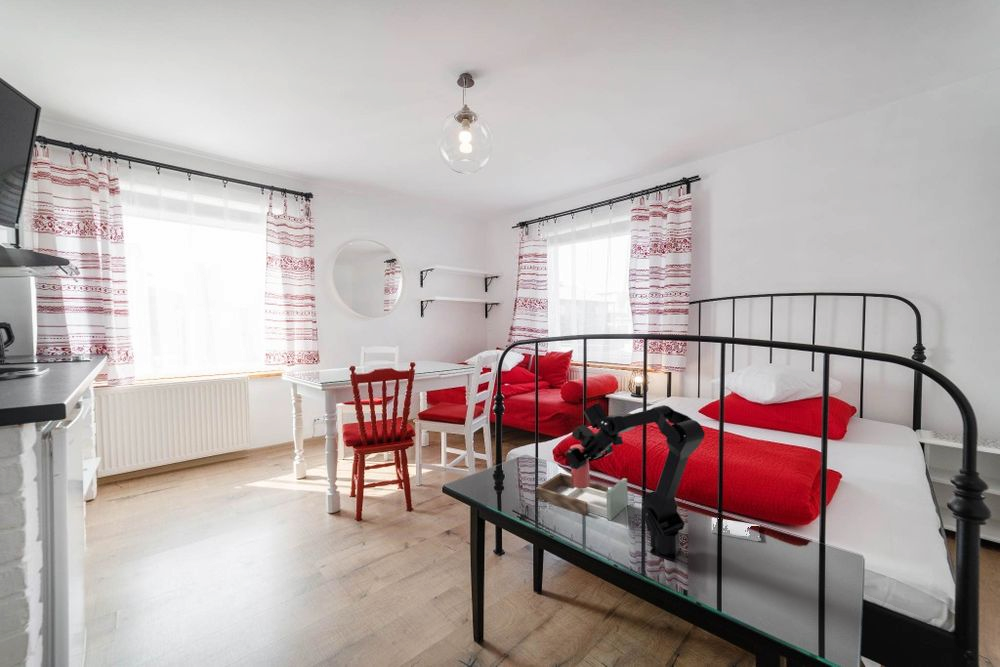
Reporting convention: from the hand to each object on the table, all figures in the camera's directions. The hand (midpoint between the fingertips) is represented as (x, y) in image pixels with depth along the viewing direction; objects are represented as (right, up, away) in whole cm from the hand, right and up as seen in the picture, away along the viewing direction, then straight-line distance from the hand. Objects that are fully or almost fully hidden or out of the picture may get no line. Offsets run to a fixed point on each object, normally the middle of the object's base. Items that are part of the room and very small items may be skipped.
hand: (577, 464), depth 143 cm
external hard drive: (+43, -14, -21) cm, 49 cm away
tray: (+5, -13, -1) cm, 15 cm away
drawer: (-1, -13, +5) cm, 14 cm away
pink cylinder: (+1, -7, -1) cm, 7 cm away
